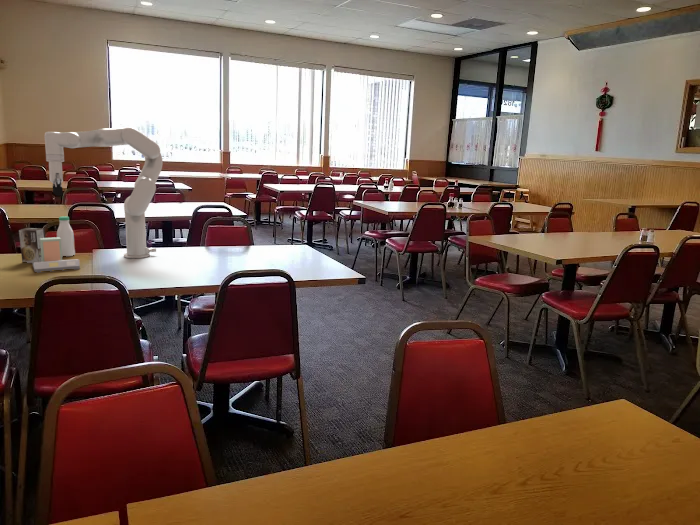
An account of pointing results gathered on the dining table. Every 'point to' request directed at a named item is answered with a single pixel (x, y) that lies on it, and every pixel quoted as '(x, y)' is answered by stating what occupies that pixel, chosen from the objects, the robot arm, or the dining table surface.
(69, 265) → the shelf board
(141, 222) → the robot arm
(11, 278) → the dining table surface
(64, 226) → the milk bottle
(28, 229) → the coffee box
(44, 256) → the box
